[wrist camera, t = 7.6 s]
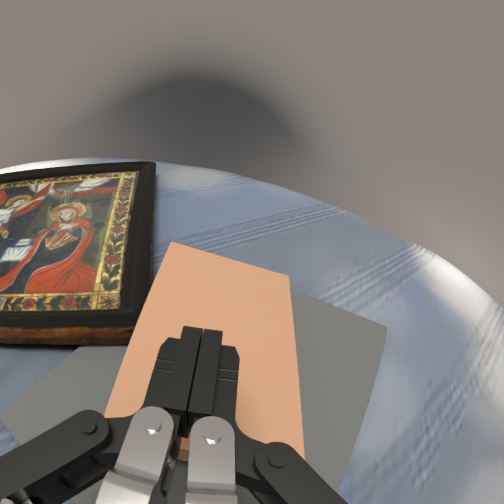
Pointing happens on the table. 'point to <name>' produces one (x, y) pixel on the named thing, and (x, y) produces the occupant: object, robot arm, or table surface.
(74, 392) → the mat
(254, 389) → the tile
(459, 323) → the table surface
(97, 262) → the religious icon
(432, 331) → the table surface
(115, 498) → the robot arm
